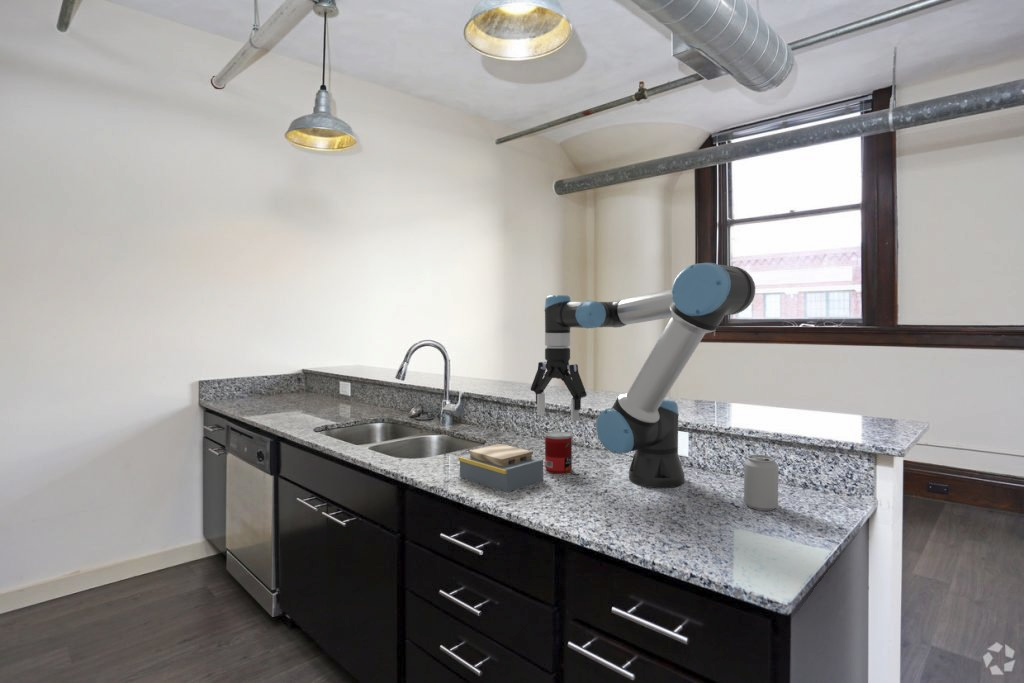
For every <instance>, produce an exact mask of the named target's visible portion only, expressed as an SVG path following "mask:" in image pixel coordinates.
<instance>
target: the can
mask: <svg viewBox="0 0 1024 683" xmlns="http://www.w3.org/2000/svg"><path fill="white" fill-rule="evenodd" d="M746 458H747V459H746V460H745V461H744V462H743V503H745V504H746V506H747V507H749V508H750V509H752V510H753V509H754V510H756V511H762V512H763V511H764V512H766V511H773V510H775V508H777V507H778V506H779V464H778V463H777V462H776V458H775V457H773V456H770V455H766V454H765V455H764V454H749V455H747V456H746Z"/></svg>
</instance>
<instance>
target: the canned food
mask: <svg viewBox="0 0 1024 683" xmlns="http://www.w3.org/2000/svg"><path fill="white" fill-rule="evenodd" d="M572 438H573V437H572V434H571V433H570V432H565V431H550V432H547V433H545V435H544V457H545V458H544V461H545V462H544V464H545V471H546V472H548V473H549V474H550V473H551V474H556V475H557V474H559V475H562V474H563V475H564V474H568V473H571V471H572V469H573V468H572V467H573V466H572V463H573V461H572V460H573V459H572V458H573V457H572V455H573V453H572V451H573V450H572V449H573V448H572V447H573V445H572V444H573V442H572V441H573V440H572Z"/></svg>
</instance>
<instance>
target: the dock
mask: <svg viewBox="0 0 1024 683" xmlns="http://www.w3.org/2000/svg"><path fill="white" fill-rule="evenodd" d="M457 460H458V462H459V477H460V478H462V479H466V480H468V481H472V482H475V483H478V484H481V485H484V486H487V487H490V488H492V489H497V490H499V491H502V492H505V493H508V492H513V491H515V490H519V489H521V488H525V487H528V486H532V485H534V484H537V483H541V482H544V459H540V458H537V457H533V456H532V459H529V460H524V459H520V462H518V463H512V462H509V461H508V465H507V466H500V465H496V464H493V463H489V462H486V461H482V460H479V459H475V458H472V457H470V453H467V454H464V455H459V456H458V457H457Z"/></svg>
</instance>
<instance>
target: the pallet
mask: <svg viewBox="0 0 1024 683" xmlns="http://www.w3.org/2000/svg"><path fill="white" fill-rule="evenodd" d="M468 454H470V457H472V458H475V459H479V460H482V461H486V462H489V463H493V464H496V465H500V466H507V465H508V461H509V462H512V463H518V462H520V459H524V460H529V459H532V457H533V456H532V455H534V451H533V450H532V451H531V450H527V449H524V448H519V447H515V446H512V445H511V446H510V445H507V444H502V443H496V444H493V445H488V446H483V447H479V448H478V447H477V448H474V449H470V450H468Z"/></svg>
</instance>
